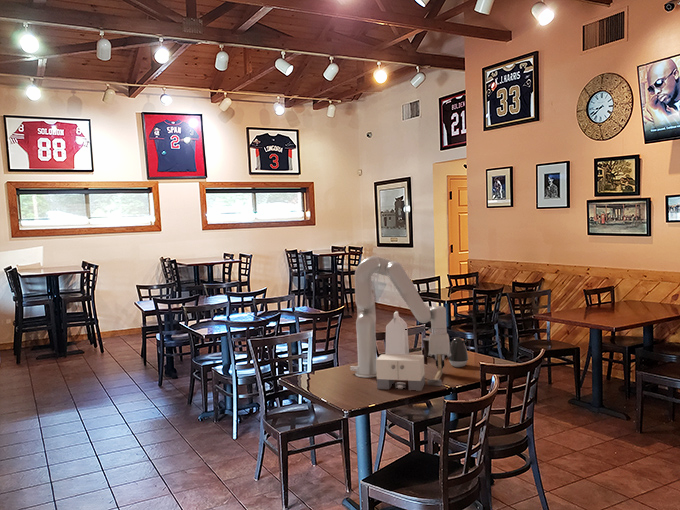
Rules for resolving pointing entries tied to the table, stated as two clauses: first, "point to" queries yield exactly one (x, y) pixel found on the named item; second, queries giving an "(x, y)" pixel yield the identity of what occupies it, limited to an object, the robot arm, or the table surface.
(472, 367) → the table surface
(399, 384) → the steel puck
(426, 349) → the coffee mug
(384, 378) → the cabinet
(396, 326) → the milk
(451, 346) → the pump dispenser
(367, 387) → the table surface
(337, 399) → the table surface
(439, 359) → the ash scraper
